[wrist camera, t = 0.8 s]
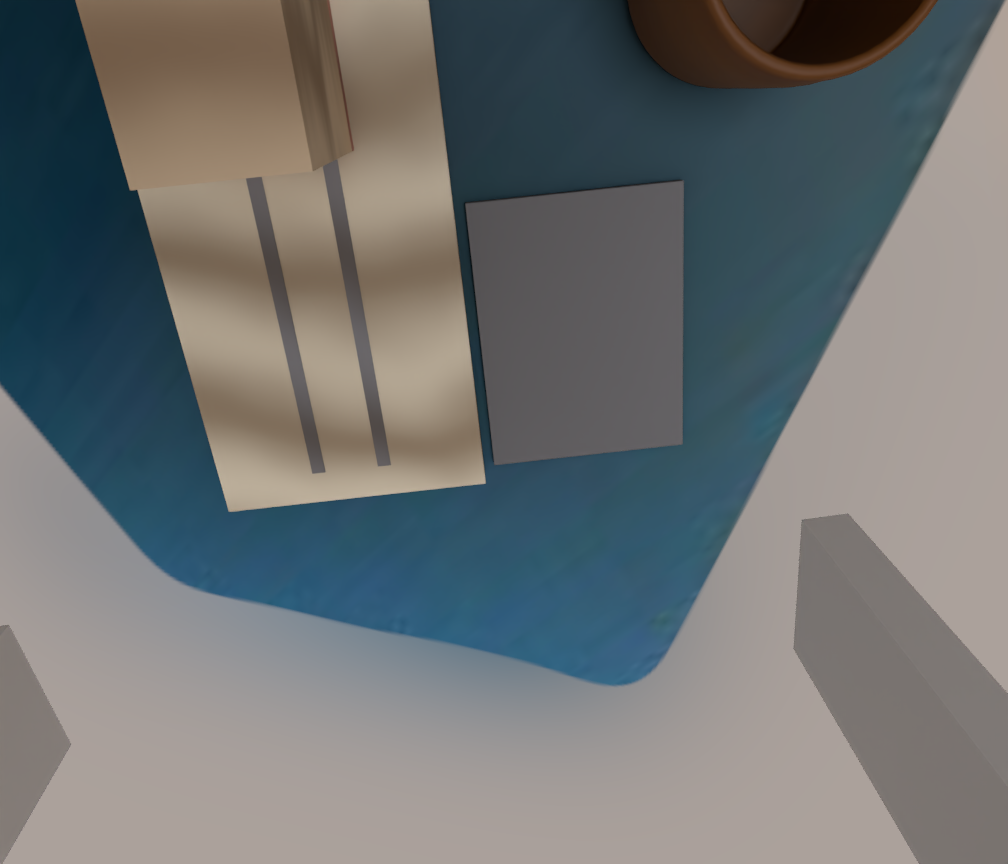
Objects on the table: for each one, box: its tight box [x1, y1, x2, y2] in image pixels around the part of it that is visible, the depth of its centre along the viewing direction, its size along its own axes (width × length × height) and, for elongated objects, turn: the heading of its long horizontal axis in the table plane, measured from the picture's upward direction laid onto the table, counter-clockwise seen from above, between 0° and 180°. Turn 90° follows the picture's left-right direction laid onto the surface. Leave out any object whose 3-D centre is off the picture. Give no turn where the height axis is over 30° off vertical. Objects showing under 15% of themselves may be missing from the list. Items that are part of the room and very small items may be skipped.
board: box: [138, 0, 486, 512], centre depth 31 cm, size 22×12×1 cm, turn 6°
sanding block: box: [75, 0, 354, 191], centre depth 23 cm, size 7×5×9 cm
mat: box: [465, 180, 684, 465], centre depth 33 cm, size 12×9×1 cm
